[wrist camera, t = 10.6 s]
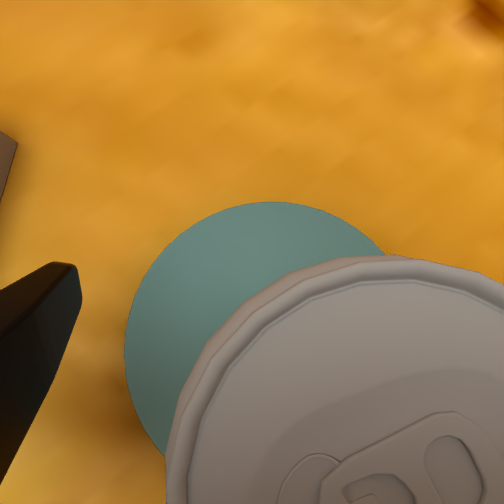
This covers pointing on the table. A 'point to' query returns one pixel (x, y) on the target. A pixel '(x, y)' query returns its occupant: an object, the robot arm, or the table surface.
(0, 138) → the can holder
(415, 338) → the beverage can
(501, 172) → the table surface
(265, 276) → the teal pad
